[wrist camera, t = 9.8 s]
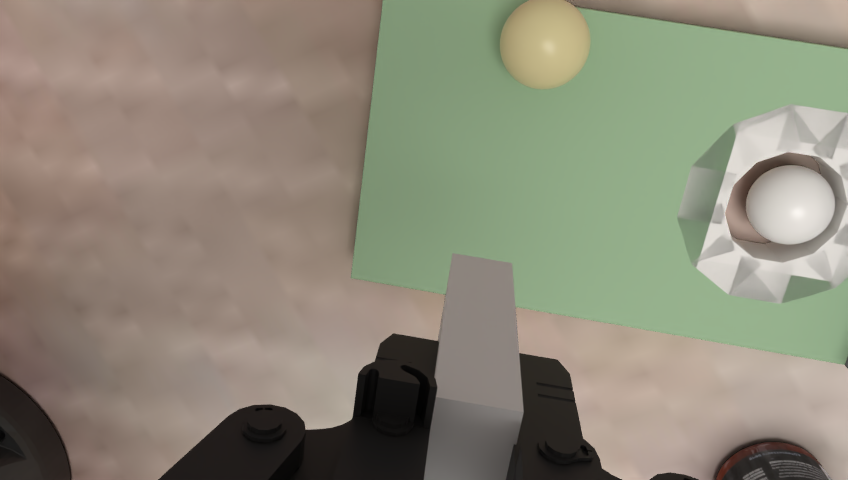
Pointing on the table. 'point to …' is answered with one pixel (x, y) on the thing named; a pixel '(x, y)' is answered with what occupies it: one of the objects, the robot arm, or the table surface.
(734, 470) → the supplement bottle
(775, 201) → the ball
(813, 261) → the green
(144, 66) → the table surface
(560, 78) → the yellow ball
